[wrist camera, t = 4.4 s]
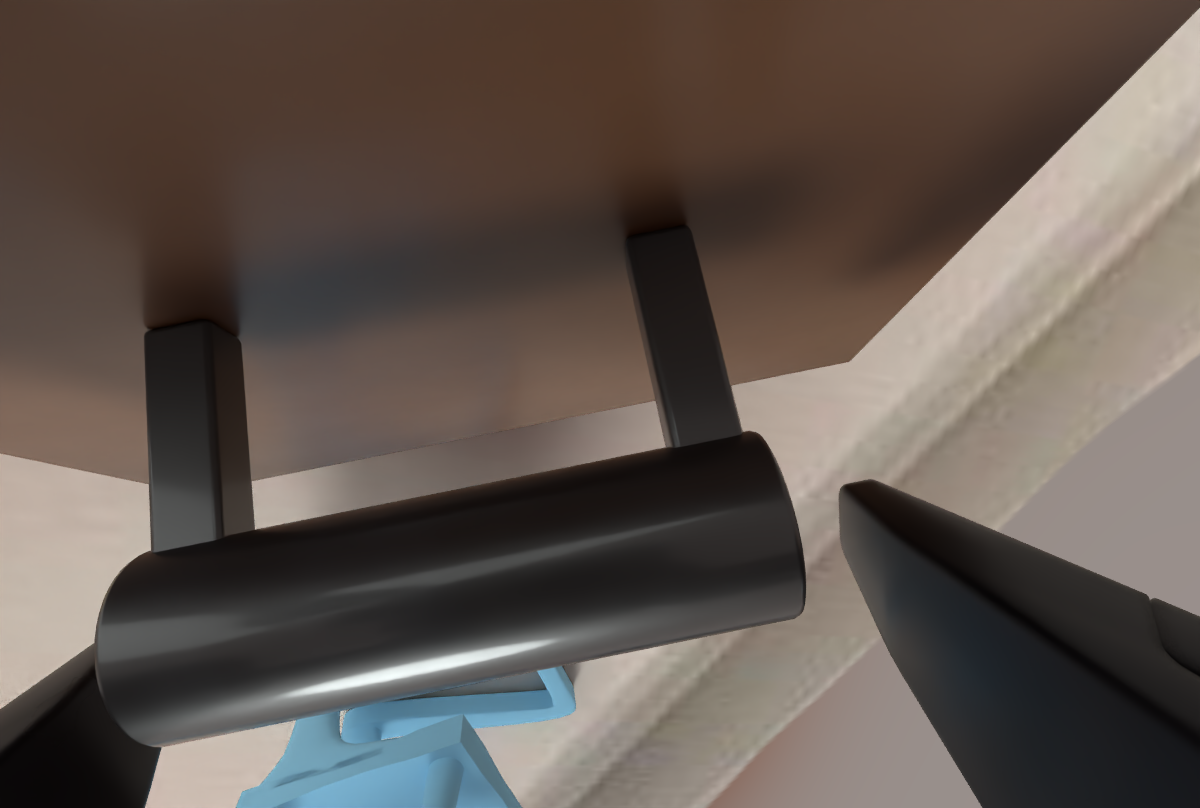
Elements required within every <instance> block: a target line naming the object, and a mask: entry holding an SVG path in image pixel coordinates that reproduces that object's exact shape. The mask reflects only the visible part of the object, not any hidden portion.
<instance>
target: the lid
mask: <svg viewBox="0 0 1200 808" xmlns="http://www.w3.org/2000/svg"><path fill="white" fill-rule="evenodd" d="M1199 8H1200V0H0V453H1V454H6V455H11V456H15V457H20V458H25V459H30V460H35V461H39V462H44V463H49V464H54V465H59V466H63V467H68V468H73V469H78V470H83V471H88V472H92V473H97V474H102V475H107V476H112V477H116V478H121V479H126V480H131V481H136V482H140V483H145V484H149V499H150V527H151V551H148V552H146V553H144V554H142V555H140V556H138V557H137V558H135V559H134V560H132V561H131V562H130V563H128V564H127V565H126V566H125V567H124V568H123V569H122V570H121V571H120V572H119V573H118V575H117V576H116V577H115V579H114V580H113V582H112V584H111V585H110V587H109V589H108V591H107V593H106V595H105V598H104V600H103V603H102V606H101V609H100V612H99V617H98V621H97V626H96V634H95V648H94V657H95V670H96V677H97V683H98V686H99V690H100V694H101V697H102V700H103V702H104V705H105V707H106V709H107V711H108V713H109V715H110V717H111V719H112V720H113V721H114V723H115V724H116V726H117V727H118V728H119V729H120V730H121V731H122V732H123V733H124V734H125V735H126V736H128V737H129V738H130V739H132V740H134V741H136V742H138V743H140V744H143V745H147V746H152V747H165V746H170V745H175V744H180V743H185V742H190V741H195V740H200V739H205V738H210V737H214V736H219V735H224V734H229V733H234V732H239V731H244V730H249V729H254V728H259V727H264V726H269V725H274V724H278V723H283V722H288V721H293V720H298V719H303V718H308V717H313V716H318V715H323V714H328V713H333V712H338V711H342V710H347V709H352V708H357V707H362V706H367V705H372V704H377V703H382V702H387V701H392V700H397V699H402V698H406V697H411V696H416V695H421V694H426V693H431V692H436V691H441V690H446V689H451V688H456V687H461V686H466V685H470V684H475V683H480V682H485V681H490V680H495V679H500V678H505V677H510V676H515V675H520V674H525V673H530V672H534V671H539V670H544V669H549V668H554V667H559V666H564V665H569V664H574V663H579V662H584V661H589V660H594V659H598V658H603V657H608V656H613V655H618V654H623V653H628V652H633V651H638V650H643V649H648V648H653V647H658V646H662V645H667V644H672V643H677V642H682V641H687V640H692V639H697V638H702V637H707V636H712V635H717V634H722V633H726V632H731V631H736V630H741V629H746V628H751V627H756V626H761V625H766V624H771V623H776V622H781V621H786V620H790V619H795V618H796V617H797V616H799V615H800V614H801V613H802V612H803V610H804V606H805V598H806V572H805V562H804V555H803V548H802V543H801V537H800V533H799V528H798V524H797V520H796V516H795V512H794V508H793V505H792V501H791V498H790V495H789V491H788V488H787V485H786V483H785V480H784V477H783V475H782V472H781V470H780V467H779V465H778V463H777V461H776V458H775V457H774V455H773V453H772V451H771V449H770V448H769V446H768V444H767V443H766V441H765V440H764V439H763V437H762V436H761V435H760V434H758V433H756V432H752V431H745V432H743V431H742V428H741V424H740V420H739V416H738V412H737V408H736V404H735V400H734V396H733V392H732V388H731V385H735V384H740V383H745V382H750V381H755V380H760V379H765V378H770V377H775V376H780V375H785V374H790V373H795V372H800V371H805V370H810V369H815V368H820V367H825V366H830V365H835V364H840V363H845V362H849V361H850V360H852V359H853V358H854V357H855V356H856V355H857V354H858V353H859V352H860V351H861V350H862V349H863V348H864V347H865V345H866V344H867V343H868V342H869V341H870V340H871V339H872V338H873V337H874V336H875V335H876V334H877V333H878V332H879V331H880V330H881V329H882V328H883V327H884V326H885V325H886V324H887V323H888V322H889V321H890V320H891V319H892V318H893V317H894V316H895V315H896V314H897V313H898V312H899V311H900V310H901V309H902V308H903V307H904V306H905V305H906V304H907V303H908V302H909V301H910V300H911V299H912V298H913V297H914V296H915V295H916V294H917V293H918V292H919V291H920V290H921V289H922V288H923V287H924V286H925V285H926V284H927V283H928V282H929V281H930V280H931V279H932V278H933V277H934V276H935V275H936V274H937V273H938V272H939V271H940V270H941V269H942V268H943V267H944V266H945V265H946V264H947V263H948V262H949V261H950V260H951V259H952V258H953V257H954V256H955V255H956V254H957V253H958V252H959V250H960V249H961V248H962V247H963V246H964V245H965V244H966V243H967V242H968V241H969V240H970V239H971V238H972V237H973V236H974V235H975V234H976V233H977V232H978V231H979V230H980V229H981V228H982V227H983V226H984V225H985V224H986V223H987V222H988V221H989V220H990V219H991V218H992V217H993V216H994V215H995V214H996V213H997V212H998V211H999V210H1000V209H1001V208H1002V207H1003V206H1004V205H1005V204H1006V203H1007V202H1008V201H1009V200H1010V199H1011V198H1012V197H1013V196H1014V195H1015V194H1016V193H1017V192H1018V191H1019V190H1020V189H1021V188H1022V187H1023V186H1024V185H1025V184H1026V183H1027V182H1028V181H1029V180H1030V179H1031V178H1032V177H1033V176H1034V175H1035V174H1036V173H1037V172H1038V171H1039V170H1040V169H1041V168H1042V167H1043V166H1044V165H1045V164H1046V163H1047V162H1048V161H1049V160H1050V159H1051V158H1052V156H1053V155H1054V154H1055V153H1056V152H1057V151H1058V150H1059V149H1060V148H1061V147H1062V146H1063V145H1064V144H1065V143H1066V142H1067V141H1068V140H1069V139H1070V138H1071V137H1072V136H1073V135H1074V134H1075V133H1076V132H1077V131H1078V130H1079V129H1080V128H1081V127H1082V126H1083V125H1084V124H1085V123H1086V122H1087V121H1088V120H1089V119H1090V118H1091V117H1092V116H1093V115H1094V114H1095V113H1096V112H1097V111H1098V110H1099V109H1100V108H1101V107H1102V106H1103V105H1104V104H1105V103H1106V102H1107V101H1108V100H1109V99H1110V98H1111V97H1112V96H1113V95H1114V94H1115V93H1116V92H1117V91H1118V90H1119V89H1120V88H1121V87H1122V86H1123V85H1124V84H1125V83H1126V82H1127V81H1128V80H1129V79H1130V78H1131V77H1132V76H1133V75H1134V74H1135V73H1136V72H1137V71H1138V70H1139V69H1140V68H1141V67H1142V66H1143V65H1144V64H1145V63H1146V61H1147V60H1148V59H1149V58H1150V57H1151V56H1152V55H1153V54H1154V53H1155V52H1156V51H1157V50H1158V49H1159V48H1160V47H1161V46H1162V45H1163V44H1164V43H1165V42H1166V41H1167V40H1168V39H1169V38H1170V37H1171V36H1172V35H1173V34H1174V33H1175V32H1176V31H1177V30H1178V29H1179V28H1180V27H1181V26H1182V25H1183V24H1184V23H1185V22H1186V21H1187V20H1188V19H1189V18H1190V17H1191V16H1192V15H1193V14H1194V13H1195V12H1196V11H1197V10H1198V9H1199ZM650 401H656V405H657V409H658V414H659V418H660V423H661V427H662V432H663V436H664V441H665V445H666V447H665V448H660V449H655V450H650V451H645V452H640V453H636V454H631V455H626V456H621V457H616V458H611V459H606V460H601V461H596V462H591V463H586V464H581V465H576V466H571V467H566V468H561V469H556V470H551V471H546V472H541V473H536V474H531V475H526V476H521V477H516V478H511V479H506V480H501V481H496V482H491V483H486V484H481V485H476V486H471V487H466V488H461V489H456V490H451V491H446V492H441V493H436V494H431V495H426V496H421V497H416V498H411V499H406V500H401V501H396V502H391V503H386V504H381V505H376V506H371V507H366V508H361V509H356V510H351V511H346V512H341V513H336V514H331V515H326V516H321V517H316V518H311V519H306V520H301V521H296V522H291V523H286V524H281V525H276V526H271V527H266V528H261V529H256V530H255V523H254V509H253V495H252V481H255V480H260V479H265V478H270V477H275V476H280V475H285V474H290V473H295V472H300V471H305V470H310V469H315V468H320V467H325V466H330V465H335V464H340V463H345V462H350V461H355V460H360V459H365V458H370V457H375V456H380V455H385V454H390V453H395V452H400V451H405V450H410V449H415V448H420V447H425V446H430V445H435V444H440V443H445V442H450V441H455V440H460V439H465V438H470V437H475V436H480V435H485V434H490V433H495V432H500V431H505V430H510V429H515V428H520V427H525V426H530V425H535V424H540V423H545V422H550V421H555V420H560V419H565V418H570V417H575V416H580V415H585V414H590V413H595V412H600V411H605V410H610V409H615V408H620V407H625V406H630V405H635V404H640V403H645V402H650Z"/></svg>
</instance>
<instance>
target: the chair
mask: <svg viewBox="0 0 1200 808" xmlns="http://www.w3.org/2000/svg"><path fill="white" fill-rule="evenodd" d="M537 672H538V674H539V675H540V677H541V679H542V681H543V683H544V684H545V686H546V688H547V689H546V690H536V691H523V692H508V693H493V694H477V695H462V696H447V697H433V698H421V699H409V700H398V701H390V702H382V703H377V704H372V705H367V706H362V707H357V708H354V709H351V710H349V711H348V712H347V713H346V714H345V716H344V721H343V727H342V734H341V735H340V711H338V712H333V713H328V714H323V715H318V716H313V717H308V718H303V719H298V720H296V723H295V726H294V729H293V732H292V735H291V738H290V741H289V743H288V745H287V748H286V750H285V753H284V755H283V756H282V758H281V759H280V761H279V762H278V763H277V765H276V766H275V768H274V769H273V770H272V771H271V773H270V774H269V775H268V776H267V777H266V779H265V780H264V781H263V782H262V783H261V784H260V785H259V786H257V787H254V788H251V789H248V790H245V791H243V792H242V793H241V796H240V799H239V801H238V804H237V806H236V808H522V807H521V805H520V804H519V802H518V801H517V799H516V798H515V796H514V795H513V793H512V792H511V790H510V789H509V787H508V786H507V784H506V783H505V781H504V780H503V778H502V776H501V774H500V773H499V771H498V769H497V767H496V766H495V764H494V762H493V760H492V758H491V757H490V755H489V753H488V751H487V750H486V748H485V746H484V744H483V743H482V741H481V740H480V738H479V737H478V735H477V734H476V732H475V731H474V729H473V728H484V727H494V726H504V725H514V724H522V723H531V722H539V721H545V720H551V719H556V718H561V717H564V716H567V715H570V714H571V713H573V712H574V711H575V709H576V701H575V695H574V688H573V685H572V683H571V681H570V679H569V678H568V676H567V674H566V672H565V670H564V669H563V667H562V666H559V667H554V668H549V669H544V670H539V671H537ZM399 736H403V737H401V738H392V737H399ZM341 738H342V739H341ZM386 738H392V739H386ZM381 739H385V740H381Z"/></svg>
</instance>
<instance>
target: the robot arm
mask: <svg viewBox="0 0 1200 808" xmlns="http://www.w3.org/2000/svg"><path fill="white" fill-rule="evenodd" d="M839 525H840V541H841V546H842V550H843V553H844V555H845V558H846V560H847V562H848V564H849V566H850V568H851V571H852V573H853V575H854V577H855V579H856V582H857V584H858V586H859V588H860V590H861V592H862V595H863V597H864V599H865V601H866V603H867V606H868V608H869V610H870V612H871V614H872V616H873V619H874V621H875V623H876V625H877V627H878V629H879V632H880V634H881V636H882V638H883V640H884V642H885V644H886V646H887V649H888V651H889V652H890V655H891V657H892V658H893V659H894V662H895V663H896V665H897V667H898V669H899V671H900V672H901V674H902V676H903V677H904V679H905V681H906V682H907V684H908V685H909V687H910V689H911V690H912V692H913V694H914V696H915V697H916V699H917V701H918V702H919V704H920V705H921V707H922V709H923V710H924V712H925V714H926V715H927V717H928V719H929V720H930V722H931V724H932V725H933V727H934V728H935V730H936V732H937V733H938V735H939V737H940V738H941V740H942V742H943V743H944V745H945V747H946V748H947V750H948V752H949V753H950V755H951V757H952V758H953V760H954V761H955V763H956V765H957V766H958V768H959V770H960V771H961V773H962V775H963V776H964V778H965V780H966V781H967V783H968V785H969V786H970V788H971V790H972V791H973V793H974V794H975V796H976V798H977V799H978V801H979V803H980V804H981V806H982V808H1200V617H1199V616H1197V615H1195V614H1192V613H1190V612H1187V611H1185V610H1183V609H1180V608H1178V607H1175V606H1173V605H1171V604H1168V603H1166V602H1164V601H1161V600H1159V599H1156V598H1153V599H1151V600H1149V597H1148V596H1147V595H1146V594H1144V593H1142V592H1139V591H1137V590H1135V589H1132V588H1130V587H1128V586H1125V585H1123V584H1120V583H1118V582H1116V581H1113V580H1111V579H1109V578H1106V577H1104V576H1102V575H1099V574H1097V573H1094V572H1092V571H1090V570H1087V569H1085V568H1083V567H1080V566H1078V565H1075V564H1073V563H1071V562H1068V561H1066V560H1063V559H1061V558H1059V557H1056V556H1054V555H1052V554H1049V553H1047V552H1044V551H1042V550H1040V549H1037V548H1035V547H1032V546H1030V545H1028V544H1026V543H1023V542H1020V541H1018V540H1016V539H1014V538H1011V537H1009V536H1007V535H1004V534H1002V533H999V532H997V531H995V530H992V529H990V528H988V527H985V526H983V525H980V524H978V523H976V522H973V521H971V520H969V519H966V518H964V517H961V516H959V515H957V514H954V513H952V512H950V511H947V510H945V509H942V508H940V507H938V506H935V505H933V504H931V503H928V502H926V501H923V500H921V499H919V498H916V497H914V496H912V495H909V494H907V493H904V492H902V491H900V490H897V489H895V488H893V487H890V486H888V485H885V484H883V483H881V482H878V481H876V480H871V479H868V480H863V481H858V482H854V483H849V484H845V485H843V486H842V487H841V488H840V491H839ZM94 648H95V643H94V644H92V645H91V646H89V647H88V648H87V649H85V650H84V651H82V652H81V653H80V654H78V655H77V656H75V657H74V658H72V659H71V660H70V661H68V662H67V663H65V664H64V665H62V666H61V667H60V668H58V669H57V670H55V671H54V672H53V673H51V674H50V675H48V676H47V677H45V678H44V679H43V680H41V681H40V682H38V683H37V684H36V685H34V686H33V687H31V688H30V689H28V690H27V691H26V692H24V693H23V694H21V695H20V696H18V697H17V698H16V699H14V700H13V701H11V702H10V703H9V704H7V705H6V706H4V707H3V708H1V709H0V808H145V805H146V802H147V798H148V795H149V792H150V788H151V785H152V781H153V777H154V773H155V770H156V766H157V762H158V759H159V755H160V751H161V748H162V747H152V746H147V745H143V744H140V743H138V742H136V741H134V740H132V739H130V738H129V737H128V736H126V735H125V734H124V733H123V732H122V731H121V730H120V729H119V728H118V727H117V726H116V724H115V723H114V721H113V720H112V719H111V717H110V715H109V713H108V711H107V709H106V707H105V705H104V702H103V700H102V697H101V694H100V690H99V686H98V683H97V677H96V670H95V657H94Z"/></svg>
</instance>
